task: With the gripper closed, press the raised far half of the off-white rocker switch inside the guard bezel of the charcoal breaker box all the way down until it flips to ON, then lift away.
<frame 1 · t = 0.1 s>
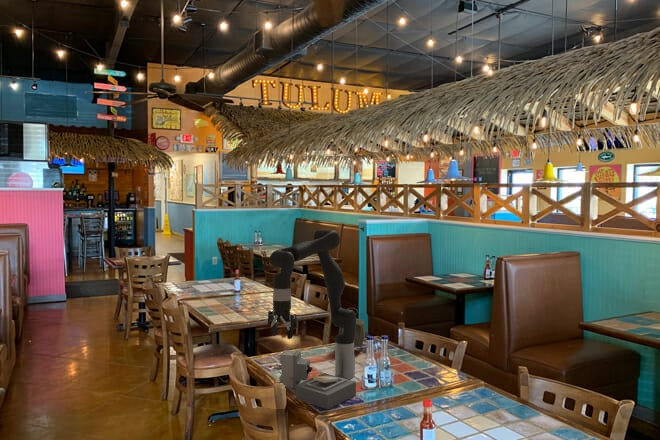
hand: (282, 337, 212), 29 cm above the table, tool pointing down, fingers open, 8 cm apart
tabletop clock: (351, 351, 291), on the table
breaker box: (326, 396, 222), on the table
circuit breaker: (296, 385, 237), on the table
breaker rocker: (326, 378, 222), point 8 cm above the table, hinge at -12.0°
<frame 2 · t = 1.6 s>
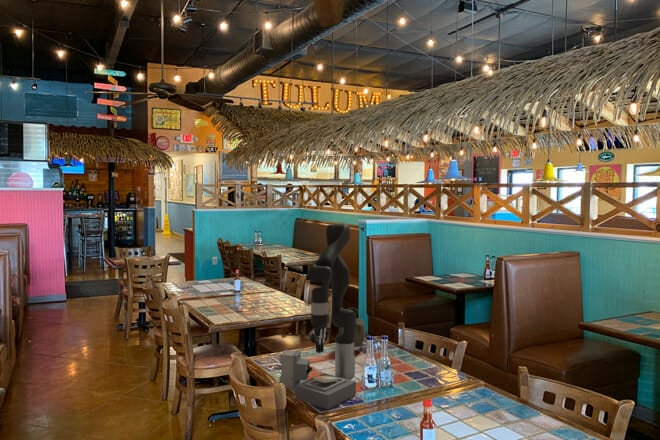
hand: (319, 352, 218), 21 cm above the table, tool pointing down, fingers closed
nothing on the table moved.
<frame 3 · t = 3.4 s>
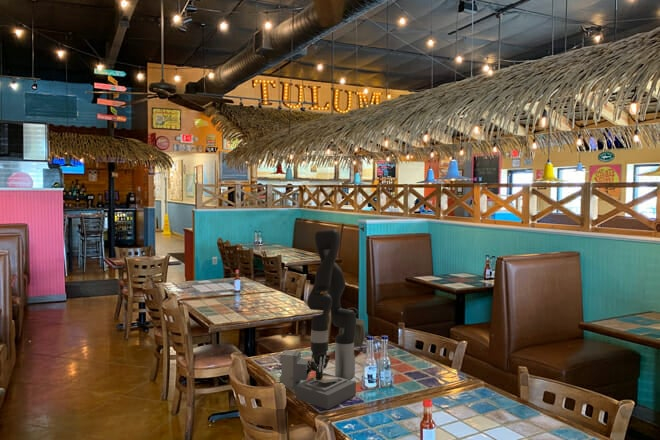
hand: (319, 379, 218), 9 cm above the table, tool pointing down, fingers closed
breaker rocker: (326, 378, 222), point 8 cm above the table, hinge at -11.5°, touching gripper
everything else where it was.
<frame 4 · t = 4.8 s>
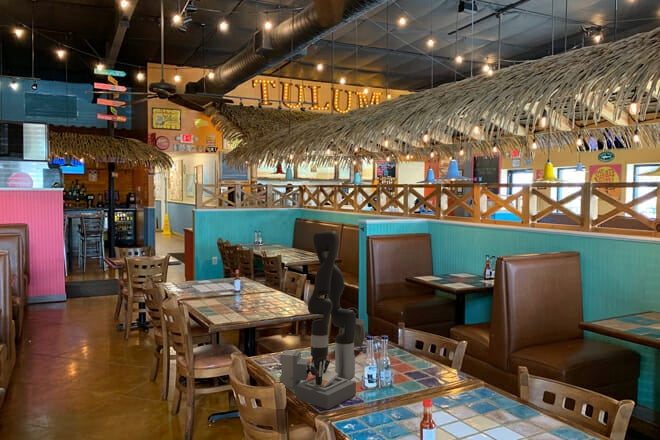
hand: (318, 384, 218), 7 cm above the table, tool pointing down, fingers closed
breaker rocker: (326, 378, 222), point 8 cm above the table, hinge at 16.0°, touching gripper
everything else where it was.
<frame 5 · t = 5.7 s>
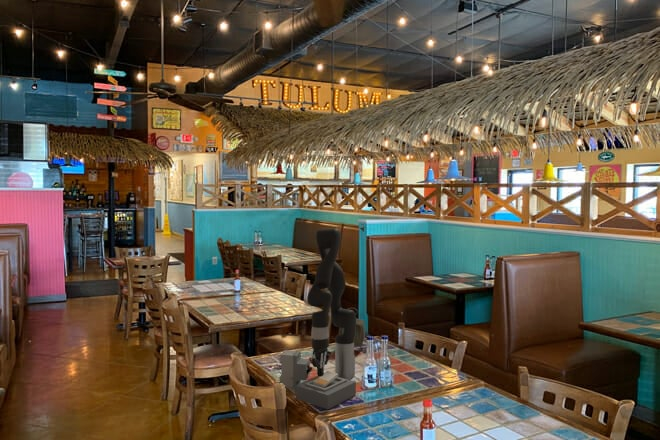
hand: (320, 375, 218), 11 cm above the table, tool pointing down, fingers closed
breaker rocker: (326, 378, 222), point 8 cm above the table, hinge at 13.1°
everything else where it was.
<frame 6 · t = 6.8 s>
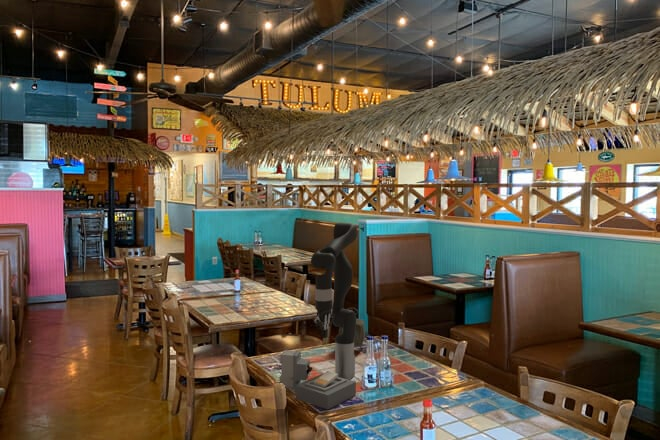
hand: (324, 337, 221), 26 cm above the table, tool pointing down, fingers closed
breaker rocker: (326, 378, 222), point 8 cm above the table, hinge at 12.3°
everything else where it was.
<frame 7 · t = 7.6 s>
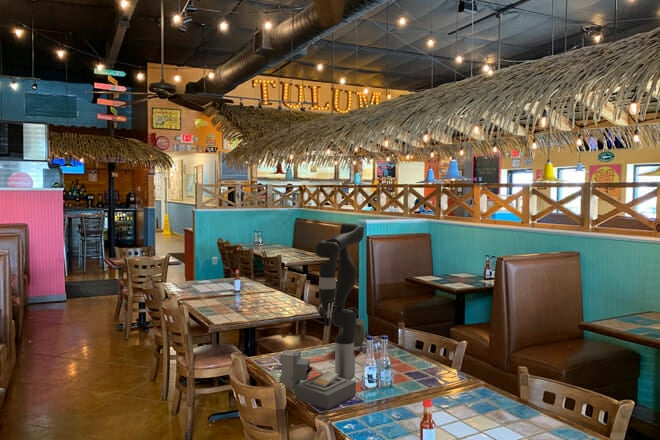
hand: (327, 325, 223), 31 cm above the table, tool pointing down, fingers closed
nothing on the table moved.
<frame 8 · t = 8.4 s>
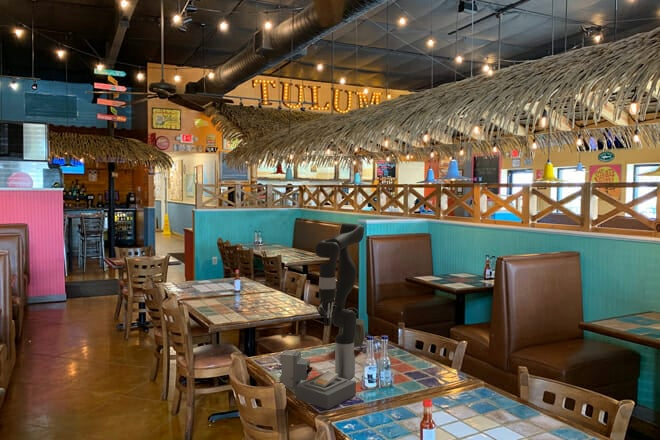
hand: (327, 325, 223), 31 cm above the table, tool pointing down, fingers closed
nothing on the table moved.
at the end: breaker rocker at +12° (first picture: -12°); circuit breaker moved 0.2 cm from its start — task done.
